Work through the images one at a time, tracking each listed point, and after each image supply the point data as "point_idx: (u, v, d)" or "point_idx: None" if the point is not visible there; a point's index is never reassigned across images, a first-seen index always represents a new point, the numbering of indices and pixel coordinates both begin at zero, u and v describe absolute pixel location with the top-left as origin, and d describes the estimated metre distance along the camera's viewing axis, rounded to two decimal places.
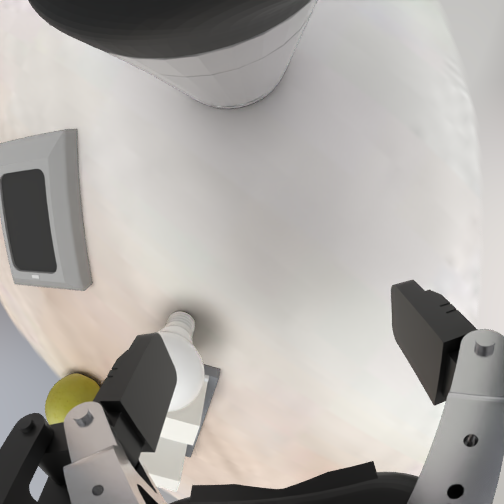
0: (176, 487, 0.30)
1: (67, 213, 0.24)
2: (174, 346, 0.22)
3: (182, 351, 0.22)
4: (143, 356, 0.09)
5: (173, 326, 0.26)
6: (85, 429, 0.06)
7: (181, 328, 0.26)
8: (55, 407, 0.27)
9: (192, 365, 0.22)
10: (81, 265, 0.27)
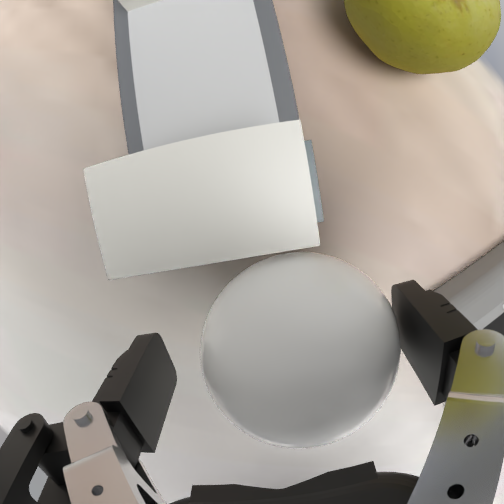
0: None
1: None
2: None
3: None
4: (143, 356, 0.09)
5: None
6: (85, 429, 0.06)
7: None
8: (489, 32, 0.08)
9: None
10: None
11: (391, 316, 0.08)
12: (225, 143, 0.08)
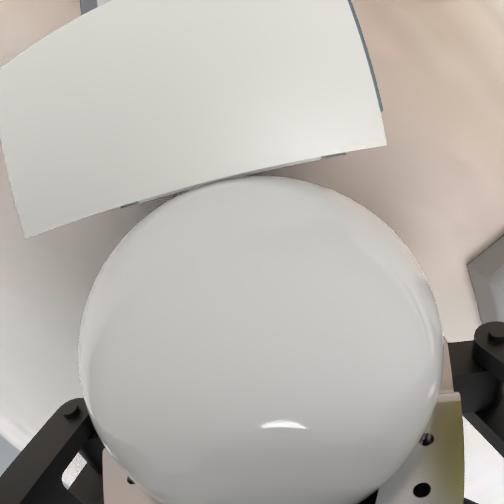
0: None
1: None
2: None
3: None
4: None
5: None
6: None
7: None
8: None
9: None
10: (492, 315, 0.12)
11: (416, 309, 0.03)
12: None
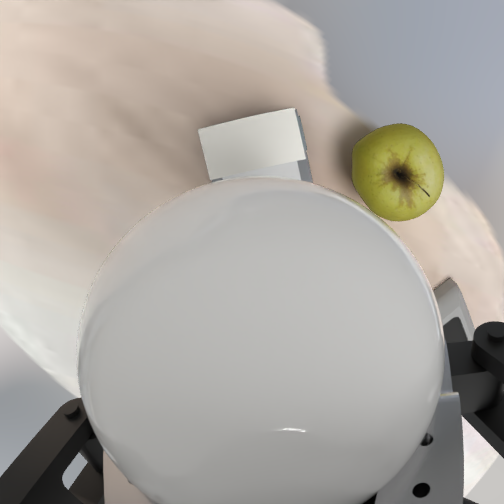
0: (205, 151, 0.20)
1: None
2: None
3: None
4: None
5: None
6: None
7: None
8: (428, 208, 0.22)
9: None
10: None
11: (420, 311, 0.03)
12: None
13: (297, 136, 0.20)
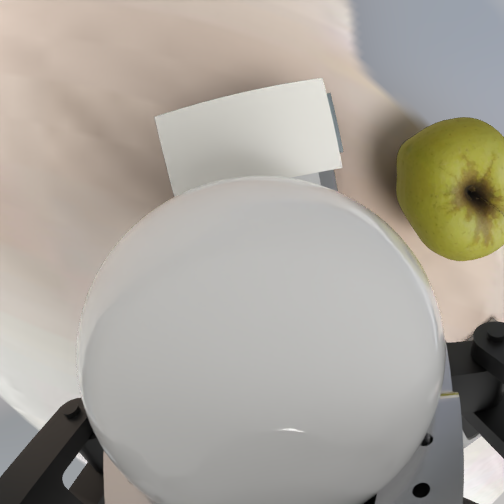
0: (168, 154, 0.11)
1: None
2: None
3: None
4: None
5: None
6: None
7: None
8: None
9: None
10: None
11: (420, 311, 0.03)
12: None
13: (328, 127, 0.11)
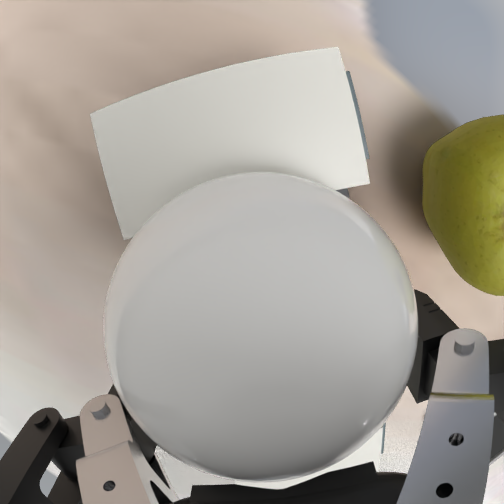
0: (109, 168, 0.07)
1: None
2: None
3: None
4: None
5: None
6: (103, 422, 0.06)
7: None
8: None
9: None
10: None
11: (388, 262, 0.04)
12: None
13: (349, 122, 0.07)
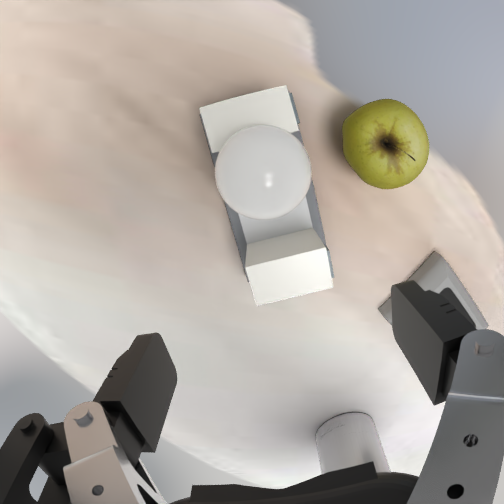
0: (207, 127, 0.22)
1: None
2: (271, 218, 0.20)
3: (261, 218, 0.20)
4: (143, 356, 0.09)
5: None
6: (85, 429, 0.06)
7: None
8: (416, 175, 0.23)
9: (243, 212, 0.20)
10: None
11: (293, 140, 0.19)
12: (300, 257, 0.25)
13: (290, 110, 0.21)
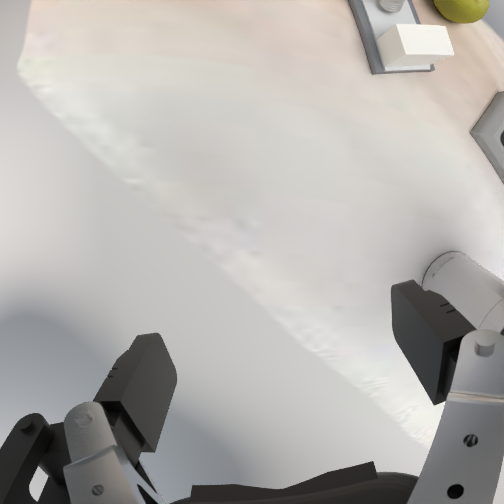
0: None
1: None
2: None
3: None
4: (143, 356, 0.09)
5: None
6: (85, 429, 0.06)
7: None
8: (485, 9, 0.21)
9: None
10: (486, 147, 0.32)
11: None
12: (431, 27, 0.23)
13: None
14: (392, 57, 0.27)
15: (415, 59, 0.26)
